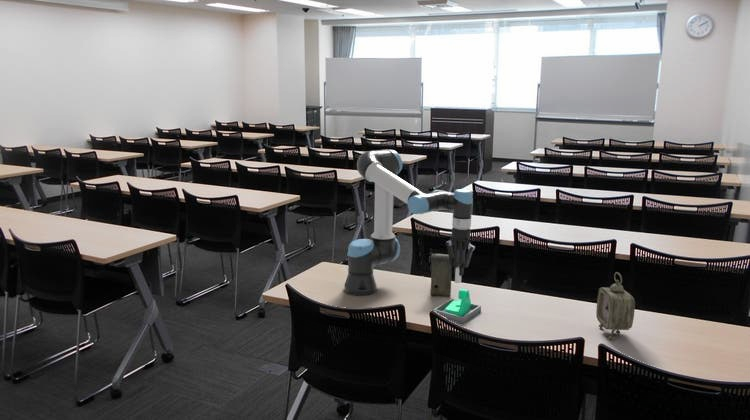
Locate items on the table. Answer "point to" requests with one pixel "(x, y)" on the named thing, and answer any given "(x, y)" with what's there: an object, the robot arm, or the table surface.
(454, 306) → the camera mount
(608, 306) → the tabletop clock
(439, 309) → the tray
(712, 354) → the table surface
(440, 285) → the vintage camera
